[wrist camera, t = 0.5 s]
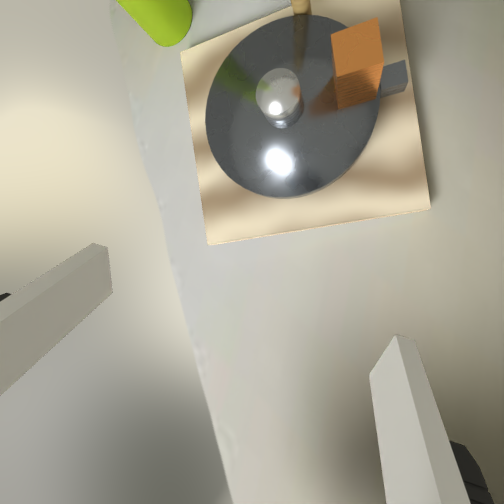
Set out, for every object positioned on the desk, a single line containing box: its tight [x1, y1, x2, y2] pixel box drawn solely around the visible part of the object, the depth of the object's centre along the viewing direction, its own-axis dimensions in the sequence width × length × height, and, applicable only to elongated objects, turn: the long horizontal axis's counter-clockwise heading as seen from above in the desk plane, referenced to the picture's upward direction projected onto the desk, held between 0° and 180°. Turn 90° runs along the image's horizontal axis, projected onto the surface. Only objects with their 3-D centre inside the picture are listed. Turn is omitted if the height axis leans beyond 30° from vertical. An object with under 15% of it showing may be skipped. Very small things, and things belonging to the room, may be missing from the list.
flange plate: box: [205, 15, 408, 199], centre depth 23 cm, size 18×16×6 cm
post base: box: [180, 0, 431, 245], centre depth 27 cm, size 22×22×6 cm
